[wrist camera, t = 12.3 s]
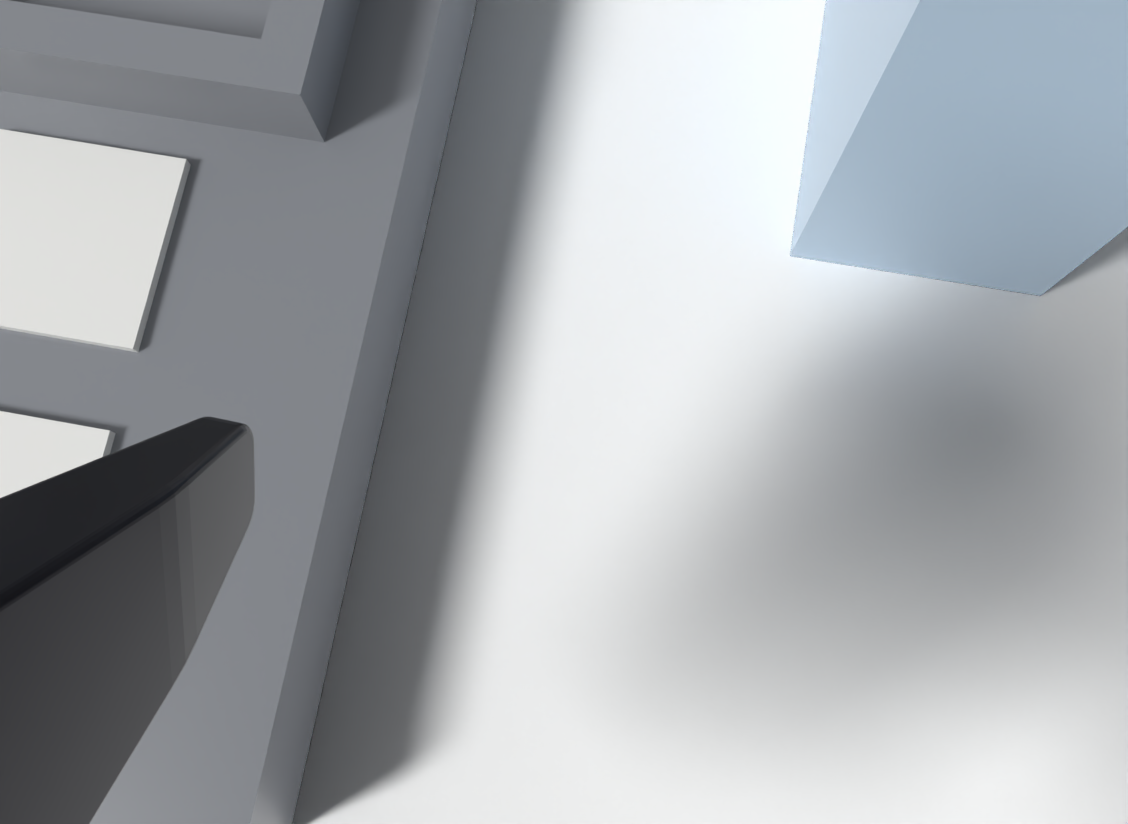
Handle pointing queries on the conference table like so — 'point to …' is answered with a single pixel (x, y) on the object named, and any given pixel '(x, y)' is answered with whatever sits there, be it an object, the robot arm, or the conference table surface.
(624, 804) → the conference table surface
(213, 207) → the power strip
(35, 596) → the robot arm
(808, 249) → the pale blue block
